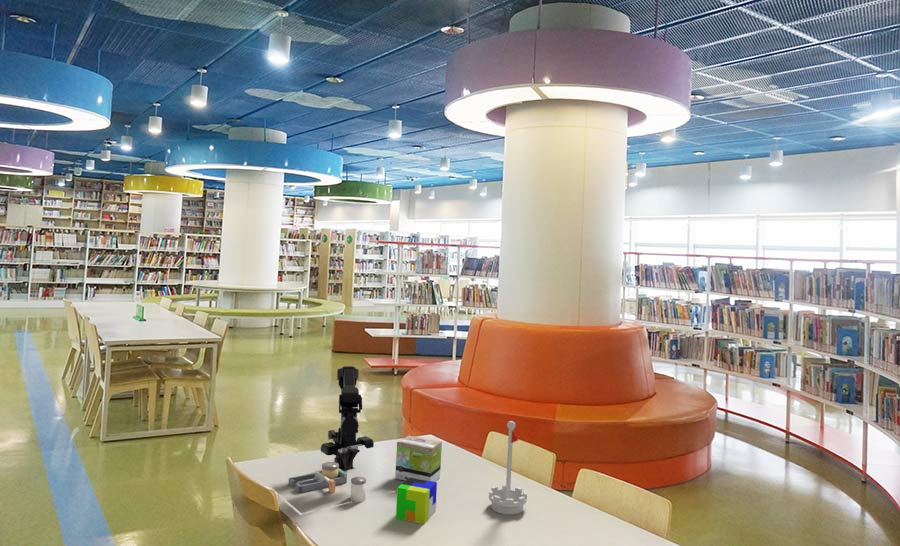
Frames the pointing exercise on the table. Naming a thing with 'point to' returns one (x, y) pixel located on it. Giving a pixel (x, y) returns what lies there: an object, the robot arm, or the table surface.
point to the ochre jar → (330, 470)
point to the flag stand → (508, 486)
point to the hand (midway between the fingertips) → (346, 469)
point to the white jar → (358, 489)
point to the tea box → (418, 459)
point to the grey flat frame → (314, 482)
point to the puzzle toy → (416, 500)
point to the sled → (321, 477)
